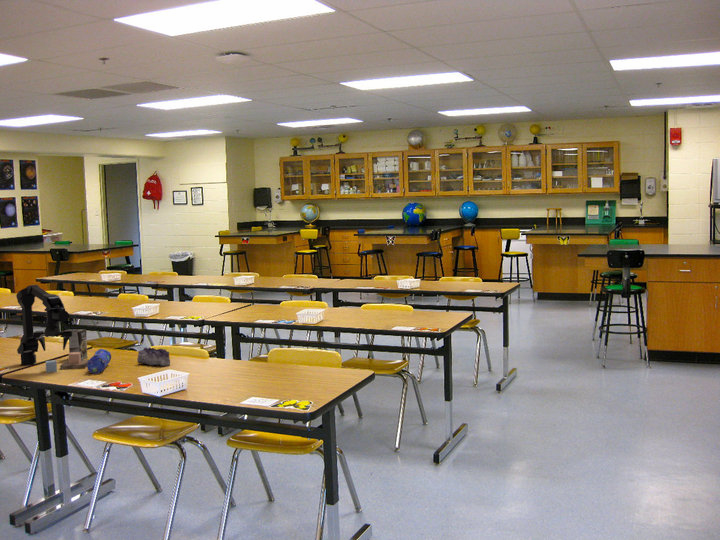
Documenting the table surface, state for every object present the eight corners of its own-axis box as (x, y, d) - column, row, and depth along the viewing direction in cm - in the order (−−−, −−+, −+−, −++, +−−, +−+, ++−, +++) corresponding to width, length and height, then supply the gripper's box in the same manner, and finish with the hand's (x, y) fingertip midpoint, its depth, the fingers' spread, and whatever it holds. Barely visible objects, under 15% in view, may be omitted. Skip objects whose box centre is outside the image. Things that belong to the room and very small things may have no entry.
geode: (178, 363, 364) (176, 345, 362) (163, 371, 354) (161, 352, 352) (149, 358, 373) (147, 341, 371) (134, 365, 363) (132, 347, 361)
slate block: (46, 372, 345) (45, 363, 344) (45, 370, 349) (45, 361, 349) (56, 371, 347) (56, 362, 347) (56, 369, 352) (56, 360, 351)
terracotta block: (68, 363, 355) (68, 354, 355) (70, 361, 360) (70, 352, 360) (79, 363, 356) (78, 353, 356) (81, 361, 361) (80, 352, 361)
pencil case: (104, 374, 342) (104, 355, 341) (86, 375, 340) (85, 356, 339) (111, 364, 363) (111, 346, 362) (94, 365, 361) (94, 347, 361)
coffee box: (80, 361, 371) (79, 331, 370) (69, 361, 371) (67, 331, 370) (88, 357, 380) (86, 328, 379) (76, 357, 380) (75, 328, 379)
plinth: (60, 369, 352) (60, 365, 351) (65, 364, 363) (65, 360, 363) (85, 368, 354) (84, 364, 354) (89, 363, 366) (89, 359, 365)
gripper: (28, 323, 338) (30, 354, 339) (68, 322, 341) (70, 352, 342) (35, 319, 348) (36, 350, 350) (73, 318, 352) (75, 348, 353)
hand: (54, 350), depth 348 cm, fingers open, 9 cm apart
